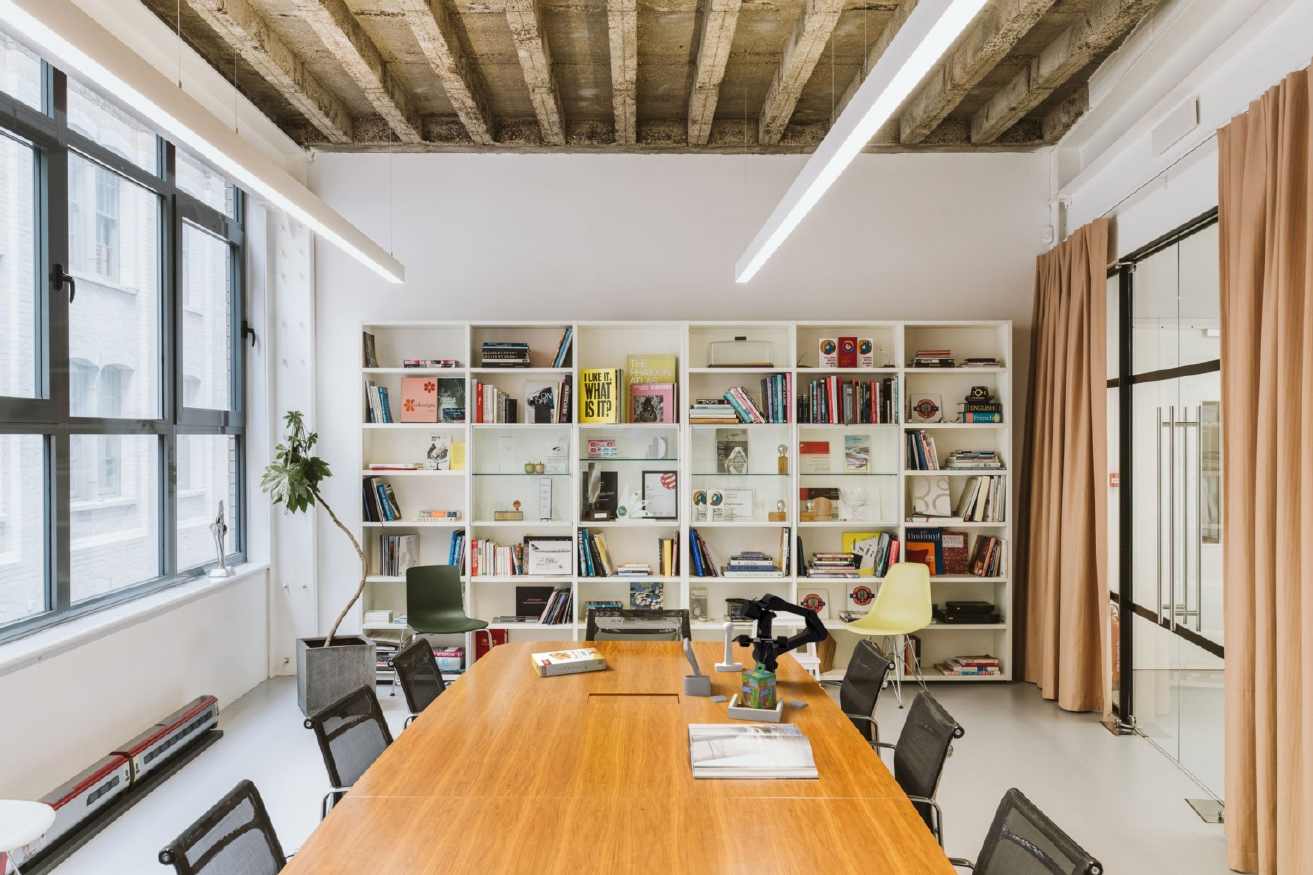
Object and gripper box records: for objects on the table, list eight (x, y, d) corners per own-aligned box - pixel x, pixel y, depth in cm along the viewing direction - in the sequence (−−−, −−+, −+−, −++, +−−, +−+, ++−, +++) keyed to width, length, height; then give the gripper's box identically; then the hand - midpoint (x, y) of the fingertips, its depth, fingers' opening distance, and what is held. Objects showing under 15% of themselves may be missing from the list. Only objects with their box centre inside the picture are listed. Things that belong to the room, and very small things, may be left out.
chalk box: (740, 704, 277) (740, 663, 277) (758, 699, 283) (758, 658, 283) (759, 711, 270) (758, 669, 270) (777, 705, 275) (776, 664, 275)
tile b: (722, 698, 285) (722, 695, 285) (727, 702, 280) (727, 699, 280) (709, 699, 284) (709, 696, 284) (715, 704, 279) (715, 700, 279)
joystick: (716, 671, 316) (715, 623, 316) (713, 666, 324) (713, 618, 324) (743, 671, 317) (742, 622, 317) (739, 665, 324) (739, 618, 324)
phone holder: (710, 695, 287) (710, 647, 287) (683, 695, 287) (683, 647, 287) (709, 681, 304) (709, 635, 304) (684, 681, 304) (683, 635, 304)
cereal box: (606, 657, 320) (539, 664, 311) (606, 670, 320) (539, 678, 311) (594, 646, 339) (530, 652, 330) (594, 658, 339) (530, 665, 330)
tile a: (794, 703, 280) (794, 699, 280) (806, 705, 276) (806, 702, 276) (787, 706, 276) (787, 703, 276) (799, 709, 272) (799, 706, 272)
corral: (734, 703, 278) (734, 693, 278) (783, 707, 274) (783, 697, 274) (727, 718, 263) (727, 707, 263) (779, 722, 259) (779, 711, 259)
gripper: (790, 635, 303) (788, 672, 293) (743, 633, 308) (740, 670, 298) (788, 621, 295) (786, 659, 285) (739, 620, 300) (736, 657, 290)
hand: (762, 662), depth 290 cm, fingers closed
